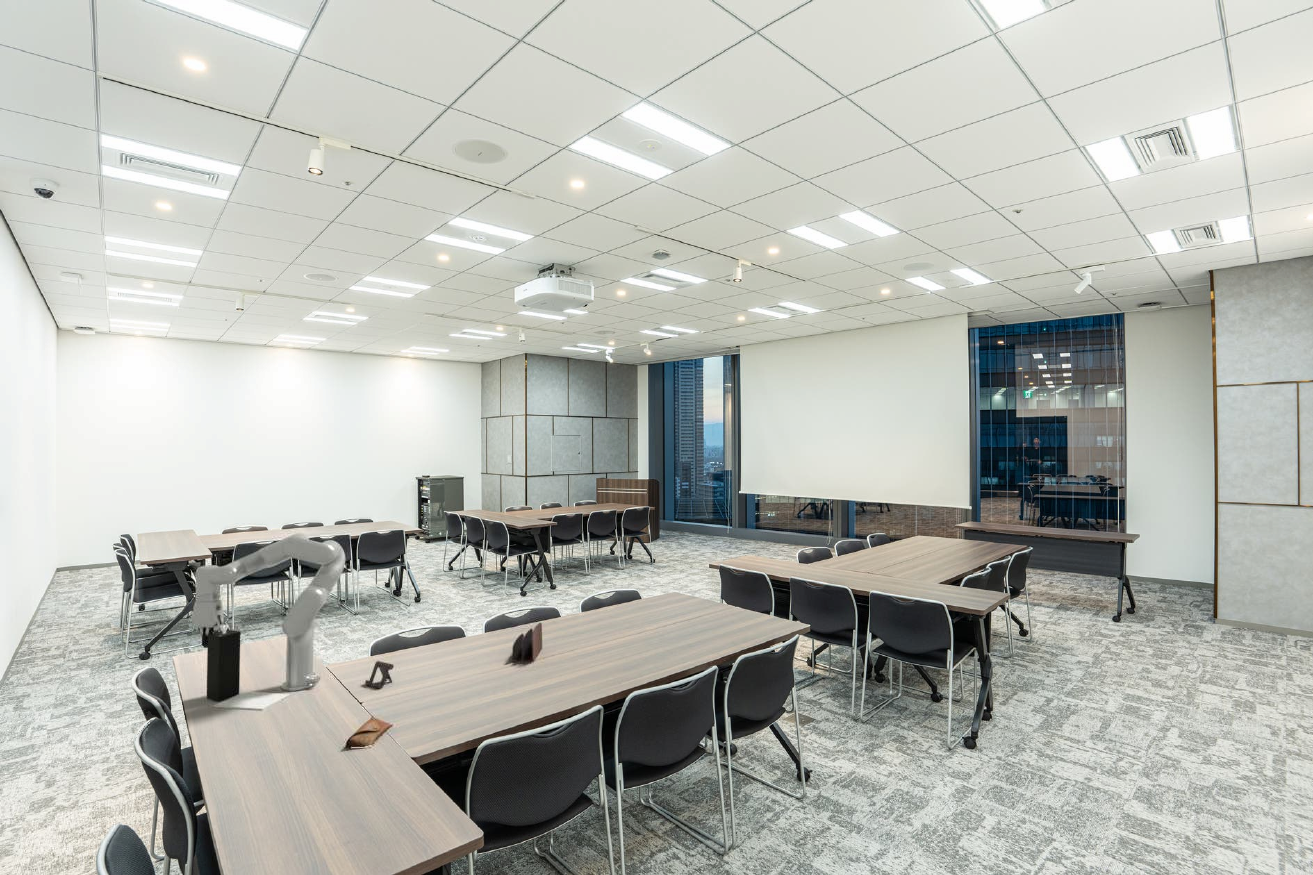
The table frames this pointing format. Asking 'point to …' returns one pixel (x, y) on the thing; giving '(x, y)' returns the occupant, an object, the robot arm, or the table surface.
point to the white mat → (252, 700)
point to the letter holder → (528, 645)
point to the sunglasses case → (368, 733)
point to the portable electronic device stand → (384, 671)
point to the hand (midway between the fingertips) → (207, 644)
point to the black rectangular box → (223, 664)
